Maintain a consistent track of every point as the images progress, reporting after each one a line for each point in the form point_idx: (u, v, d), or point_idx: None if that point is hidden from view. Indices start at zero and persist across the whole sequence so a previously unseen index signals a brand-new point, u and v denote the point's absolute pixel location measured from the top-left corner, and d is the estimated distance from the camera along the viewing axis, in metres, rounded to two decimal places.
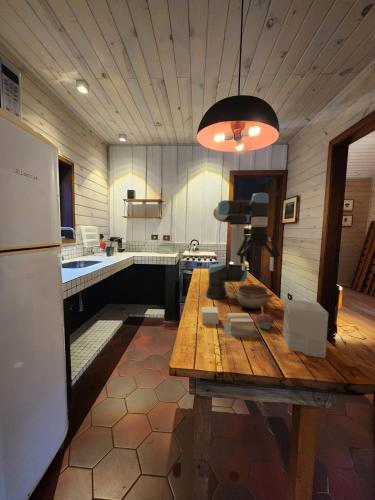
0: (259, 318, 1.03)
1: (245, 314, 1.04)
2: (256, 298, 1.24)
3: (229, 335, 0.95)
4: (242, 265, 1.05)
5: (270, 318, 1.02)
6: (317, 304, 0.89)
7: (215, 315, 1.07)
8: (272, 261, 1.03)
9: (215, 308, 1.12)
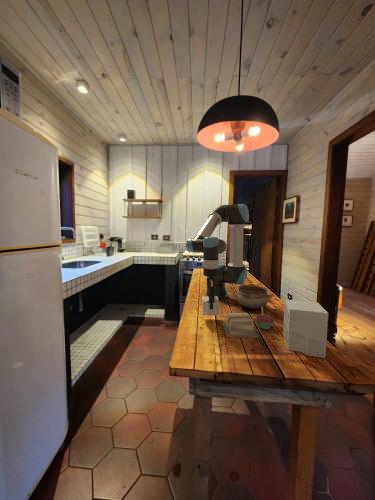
0: (259, 318, 1.03)
1: (245, 314, 1.04)
2: (256, 298, 1.24)
3: (229, 335, 0.95)
4: None
5: (270, 318, 1.02)
6: (317, 304, 0.89)
7: (215, 304, 1.07)
8: (208, 305, 1.06)
9: (216, 297, 1.12)
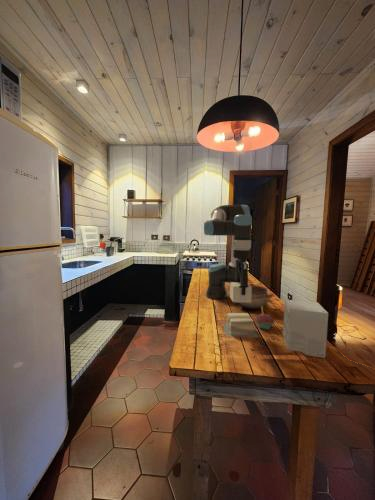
0: (259, 318, 1.03)
1: (245, 314, 1.04)
2: (256, 298, 1.24)
3: (229, 335, 0.95)
4: None
5: (270, 318, 1.02)
6: (317, 304, 0.89)
7: (247, 290, 0.95)
8: None
9: None
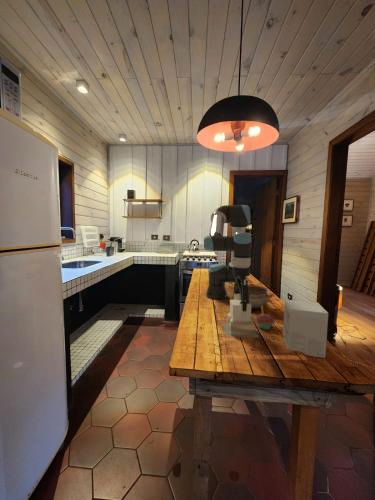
0: (259, 318, 1.03)
1: None
2: (256, 298, 1.24)
3: (229, 335, 0.95)
4: None
5: (270, 318, 1.02)
6: (317, 304, 0.89)
7: (247, 308, 0.96)
8: None
9: None
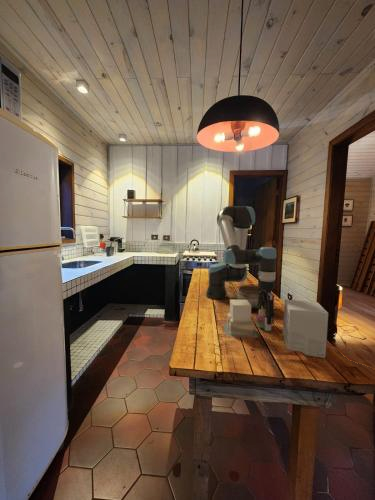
0: (259, 318, 1.03)
1: None
2: (256, 298, 1.24)
3: (229, 335, 0.95)
4: None
5: None
6: (317, 304, 0.89)
7: (247, 308, 0.96)
8: (265, 320, 1.00)
9: (245, 301, 1.01)
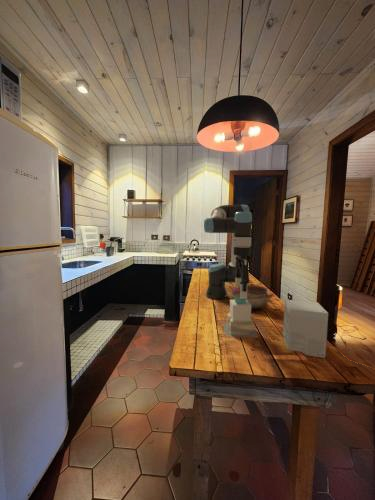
0: (234, 290, 0.98)
1: None
2: (256, 298, 1.24)
3: (229, 335, 0.95)
4: None
5: None
6: (317, 304, 0.89)
7: (247, 308, 0.96)
8: None
9: None
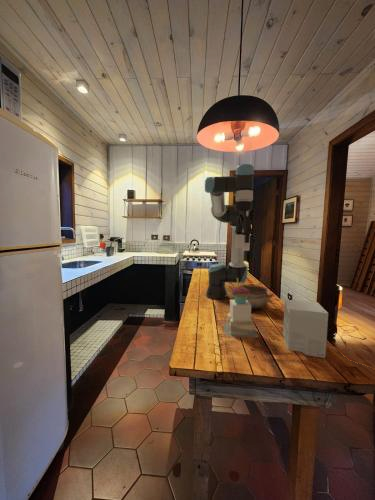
0: (234, 290, 0.98)
1: None
2: (256, 298, 1.24)
3: (229, 335, 0.95)
4: None
5: (245, 290, 0.97)
6: (317, 304, 0.89)
7: (247, 308, 0.96)
8: (243, 239, 0.91)
9: None
